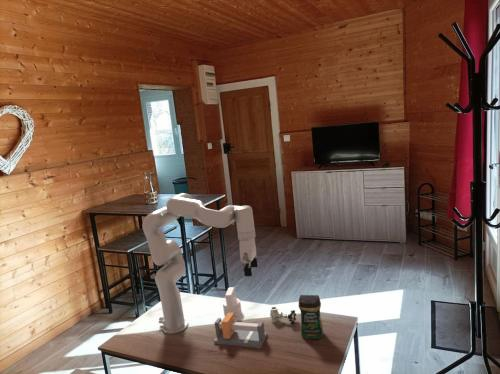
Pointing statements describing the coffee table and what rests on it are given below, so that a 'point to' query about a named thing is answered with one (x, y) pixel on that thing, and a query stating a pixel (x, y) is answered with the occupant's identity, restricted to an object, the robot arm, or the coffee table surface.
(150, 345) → the coffee table surface
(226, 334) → the orange rectangular prism
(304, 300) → the coffee jar
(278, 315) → the valve
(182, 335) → the coffee table surface
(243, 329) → the slider rail fixture
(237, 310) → the cylinder with rectangular tab
